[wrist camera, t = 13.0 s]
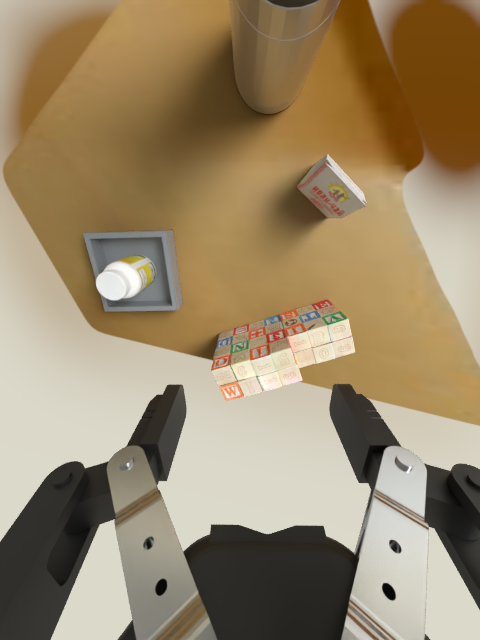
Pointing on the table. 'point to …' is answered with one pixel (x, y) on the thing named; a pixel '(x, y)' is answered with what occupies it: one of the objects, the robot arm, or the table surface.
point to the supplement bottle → (126, 277)
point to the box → (147, 243)
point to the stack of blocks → (279, 349)
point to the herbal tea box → (331, 189)
